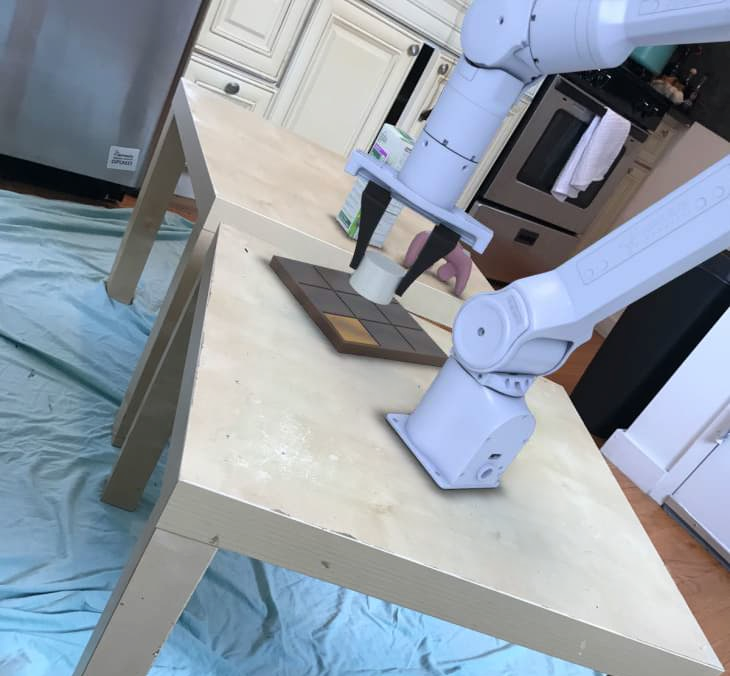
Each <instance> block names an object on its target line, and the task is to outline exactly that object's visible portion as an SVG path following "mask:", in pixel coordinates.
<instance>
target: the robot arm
mask: <svg viewBox="0 0 730 676" xmlns="http://www.w3.org/2000/svg"><path fill="white" fill-rule="evenodd" d="M719 42H720V43H721V42H730V0H472V2H471V3H470V5H469V6H468V8H467V10H466V12H465V14H464V16H463V19H462V23H461V27H460V46H461V50H462V52H461V54H460V56H459V59H458V61H457V62H456V64H455V66H454V68H453V70H452V72H451V74H450V76H449V77H448V80H447V81H446V82H445V83H446V84H445V85H444V87H443V89H442V91H441V92H440V95H439V97H438V98H437V100H436V102H435V104H434V106H433V108H432V109H431V112H430V113H429V116H428V118H427V119H426V122H424V125H423V128H422V129H421V130H420V133H419V135H418V137H417V139H416V142H415V144H414V146H413V148H412V150H411V152H410V154H409V156H408V157H407V159H406V161H405V163H404V165H403V167H402V169H401V171H399V170H397V169H395V168H393V167H391V166H389V165H388V164H386V163H384V162H382V161H380V160H378V159H376V158H374V157H372V156H371V155H369V153H367V152H365V151H364V150H362V149H360V148H359V147H357V148H355V149H354V150H353V151H352V152H351V154H350V157H349V159H348V161H347V163H346V165H345V167H344V169H343V170H344V172H345V173H347V174H348V175H350V176H352V177H356V178H357V177H359V178H360V179H362V180H364V181H365V182H367V183H368V184H367V186H366V187H365V189H364V190H363V192H362V196H361V213H360V225H359V232H358V238H357V240H356V243H355V247H354V251H353V255H352V257H351V261H350V262H349V265H348V267H349V268H351V269H352V270H354V271H355V270H356V268H357V266H358V264H359V262H360V260H361V258H362V256H363V254H364V252H365V251H366V250H368V247H369V245H370V244H369V242H370V240H371V238H372V235H373V233H374V231H375V229H376V227H377V226H378V224H379V222H380V220H381V218H382V216H383V214H384V213H385V211H386V209H387V207H388V205H389V203H390V202H391V200H392V198H393V199H395V200H396V201H398V202H400V203H401V204H403V205H404V207H406V208H408V209H410V210H411V211H413V212H415V213H416V214H417V215H419V216H421V217H422V218H424V219H426V220H427V221H429V222H431V223H432V224H434V226H433V228H432V230H431V231H432V232H431V234H430V235H429V237H428V239H427V241H426V242H425V244H424V246H423V248H422V250H421V251H420V253H419V255H418V256H417V258H416V259H415V261H414V262H413V263H412V265H411V266H410V267H409V268H408V269H407V272H405V274H406V275H405V277H404V279H403V280H402V282H401V283H400V285H399V287H398V289H397V290H396V292H395V295H396V296H397V297H399V298H402V296H403V295H404V294H405V293H406V291H407V290H408V289H409V288H410V286H411V285H412V284H414V282H415V281H416V280H417V279H418V278H419V277H420V276H421V275H422V274H424V273H425V272H426V271H428V270H427V269H428V268H429V267H431V266H432V265H433V264H434V265H435V264H436V263H438V262H439V261H440V260H442V259H443V257H445V256H447V255H448V254H449V253H451V252H452V251H453V250H454V249H455V248H456V246H457V243H459V241H462V242H464V243H465V244H466V245H468V246H469V247H471V248H472V250H474V251H475V252H476V253H478V254H480V255H483V253H484V252H485V250H487V249H486V248H487V247H488V245H489V244H490V243H491V241H492V239H493V238H494V231H493V230H492V229H490V228H489V227H487V226H485V225H484V224H483V223H481V222H480V221H478V220H477V219H475V218H474V217H472V216H471V215H470V214H469V213H467V212H466V211H464V210H463V209H461V208H460V207H459V206H458V205H456V203H457V201H458V199H459V198H460V196H461V194H462V193H463V191H464V189H465V188H466V186H467V184H468V183H469V181H470V179H471V177H472V176H473V174H474V172H475V170H476V169H477V167H478V166H479V163H480V162H481V160H482V158H483V156H484V155H485V153H486V152H487V150H488V149H489V147H490V144H491V143H492V141H493V140H494V138H495V136H496V134H497V132H498V130H499V129H500V128H501V126H502V124H503V122H504V121H505V119H506V118H507V115H508V114H509V112H510V110H512V109H513V107H514V106H515V107H517V106H518V104H519V103H520V101H521V99H522V98H523V96H524V95H525V93H526V92H527V91H528V90H529V89H531V88H533V87H535V86H536V85H538V84H540V83H541V82H542V81H543V80H545V79H546V77H547V76H548V75H554V74H556V75H557V74H566V73H573V72H574V73H575V72H576V73H577V72H584V71H593V70H603V69H614V68H617V67H619V66H621V65H622V64H623V63H624V62H626V60H627V59H628V57H630V56H631V54H632V53H633V51H634V50H635V49H636V48H638V47H652V46H654V47H655V46H666V45H667V46H668V45H669V46H670V45H686V44H687V45H689V44H702V43H703V44H705V43H719ZM400 194H401V195H400ZM728 248H730V153H729V154H727V155H725V156H724V157H723V158H721V159H719V160H718V161H716V162H715V163H714V164H712V165H711V166H709V167H708V168H706V169H704V170H703V171H701V172H700V173H699V174H696V175H694V177H692V178H691V179H689V180H688V181H686V182H685V183H683V184H681V185H680V186H678V187H677V188H676V189H674V190H673V191H671V192H670V193H667V195H665V196H664V197H662V198H661V199H659V200H658V201H656V202H655V203H653V204H652V205H650V206H649V207H646V208H645V209H643V210H642V211H641V212H639V213H638V214H636V215H635V216H633V217H632V218H631V219H629V220H627V221H626V222H624V223H623V224H621V225H620V226H618V227H616V228H615V229H613V230H612V231H610V232H609V233H608V234H606V235H605V236H603V237H601V238H600V239H599V240H596V242H594V243H593V244H591V245H590V246H588V247H586V248H585V249H583V250H582V251H580V252H579V253H578V254H576V255H574V256H573V257H571V258H570V259H568V260H566V261H565V262H564V263H561V264H560V265H559V266H558V267H556V268H554V269H552V270H549V271H546V272H542V273H538V274H533V275H529V276H526V277H522V278H519V279H516V280H513V281H512V282H511V283H509V284H508V285H506V286H504V287H502V288H501V289H498V290H494V291H492V290H491V291H483V292H478V293H476V294H474V295H472V296H470V297H469V298H467V300H466V301H464V303H462V305H461V306H460V308H459V309H458V311H457V313H456V314H455V316H454V319H453V324H452V328H451V343H452V347H451V348H450V350H449V354H450V355H448V359H447V361H446V362H445V364H444V365H443V367H442V366H441V368H440V370H439V371H438V373H437V374H436V376H435V378H433V380H432V382H431V384H430V385H429V386H428V388H427V390H426V391H425V393H424V394H423V396H422V397H421V399H420V400H419V402H418V403H417V405H416V407H415V408H414V409H413V411H412V412H411V414H407V413H405V414H404V413H391V412H390V413H387V414H386V415H385V419H386V420H387V422H388V423H389V425H391V427H392V428H393V429H394V431H395V432H396V433H397V435H398V436H399V437H400V439H402V441H403V443H404V444H406V446H407V447H408V449H409V450H410V451H411V452H412V454H413V455H414V456H415V457H416V459H417V460H418V461H419V463H420V464H421V465H422V466H423V468H424V470H426V472H427V473H428V474H429V475H430V477H431V478H432V480H434V482H435V483H436V484H437V485H438V487H439V488H441V489H444V490H449V489H450V490H451V489H452V490H455V489H456V490H457V489H487V488H490V489H491V488H498V487H499V485H500V482H499V479H500V478H501V476H502V475H503V474H504V473H505V471H506V470H507V469H508V468H509V466H510V465H511V464H512V462H513V461H514V460H515V458H516V457H517V456H518V455H519V453H520V452H521V451H522V450H523V448H524V447H525V446H526V445H527V443H528V441H529V440H530V439H531V437H532V436H533V433H534V431H535V429H536V425H537V421H536V417H535V416H534V414H533V413H532V412H531V410H530V409H529V407H528V404H527V402H526V394H527V392H528V391H529V389H530V388H531V387H532V385H533V384H534V382H535V381H536V380H537V378H538V377H545V376H548V375H552V374H554V373H555V372H557V371H558V370H559V369H560V368H561V367H562V366H563V365H564V364H565V363H566V361H567V360H568V359H569V357H570V356H571V354H572V353H573V352H574V351H576V349H577V348H578V347H580V346H582V345H583V344H585V343H586V342H589V341H590V340H591V339H592V337H593V332H594V328H595V325H596V324H598V323H600V322H601V321H604V320H605V319H607V318H608V317H611V316H613V314H615V313H618V312H619V311H621V310H622V309H624V308H626V307H627V306H629V305H631V304H633V303H634V302H636V301H638V300H639V299H641V298H643V297H644V296H647V295H648V294H650V293H652V292H654V291H655V290H657V289H659V288H660V287H662V286H664V285H666V284H668V283H669V282H671V281H672V280H673V281H674V279H676V278H677V277H679V276H681V275H683V274H686V272H688V271H690V270H692V269H693V268H695V267H697V266H699V265H700V264H703V262H706V261H707V260H709V259H711V258H713V257H714V256H716V255H717V254H719V253H722V252H723V251H725V250H726V249H728Z"/></svg>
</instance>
